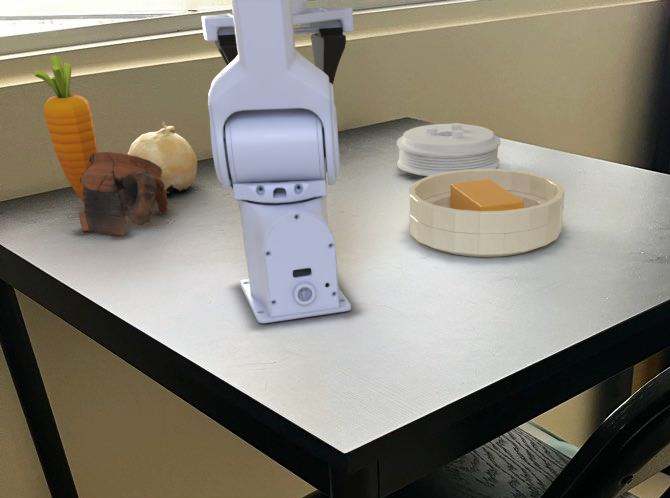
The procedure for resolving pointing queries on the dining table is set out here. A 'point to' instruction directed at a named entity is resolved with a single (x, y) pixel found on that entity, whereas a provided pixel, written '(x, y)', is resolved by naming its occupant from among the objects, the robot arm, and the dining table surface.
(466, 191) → the orange rectangular block
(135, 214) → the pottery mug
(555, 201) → the bowl
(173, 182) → the onion
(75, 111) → the carrot
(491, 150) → the lid
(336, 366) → the dining table surface
